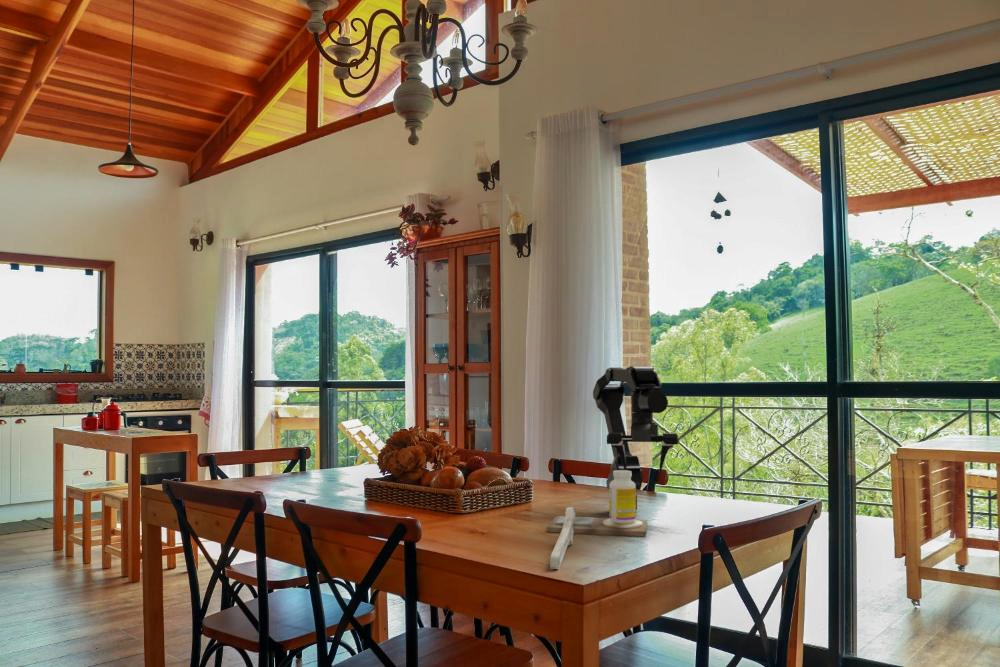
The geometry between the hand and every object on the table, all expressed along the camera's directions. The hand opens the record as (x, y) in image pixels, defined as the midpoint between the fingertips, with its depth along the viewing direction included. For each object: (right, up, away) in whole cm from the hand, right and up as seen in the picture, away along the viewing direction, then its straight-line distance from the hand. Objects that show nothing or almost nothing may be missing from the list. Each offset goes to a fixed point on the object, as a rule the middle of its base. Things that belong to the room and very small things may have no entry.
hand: (643, 471), depth 223 cm
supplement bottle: (-7, -11, -12) cm, 18 cm away
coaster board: (-13, -13, -11) cm, 21 cm away
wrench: (-24, -12, -39) cm, 47 cm away
